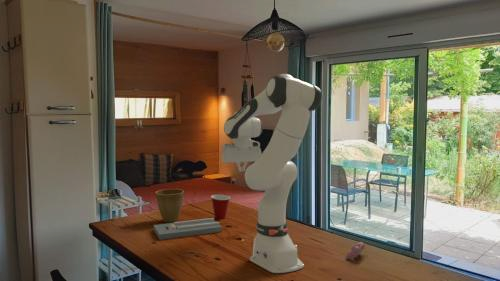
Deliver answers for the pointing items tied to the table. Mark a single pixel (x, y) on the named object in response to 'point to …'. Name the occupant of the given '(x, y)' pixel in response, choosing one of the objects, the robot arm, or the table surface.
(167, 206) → the plant pot
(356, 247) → the pink plastic figure
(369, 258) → the table surface
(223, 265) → the table surface
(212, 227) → the hole board
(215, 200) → the plastic cup
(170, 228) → the ball
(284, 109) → the robot arm
